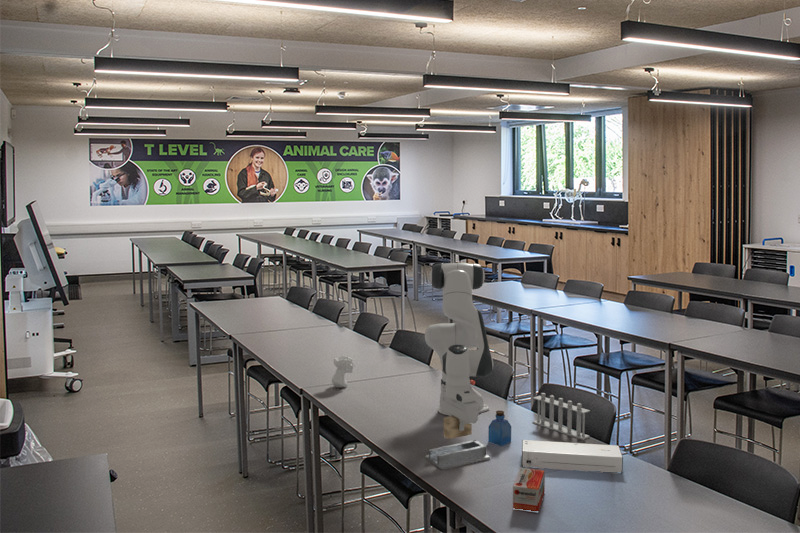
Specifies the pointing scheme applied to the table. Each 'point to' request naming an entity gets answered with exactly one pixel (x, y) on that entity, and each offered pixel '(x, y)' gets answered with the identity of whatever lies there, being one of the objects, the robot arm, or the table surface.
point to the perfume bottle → (499, 430)
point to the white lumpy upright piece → (342, 370)
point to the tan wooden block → (455, 428)
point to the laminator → (571, 456)
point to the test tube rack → (561, 416)
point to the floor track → (457, 454)
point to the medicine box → (529, 489)
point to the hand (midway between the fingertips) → (457, 428)
